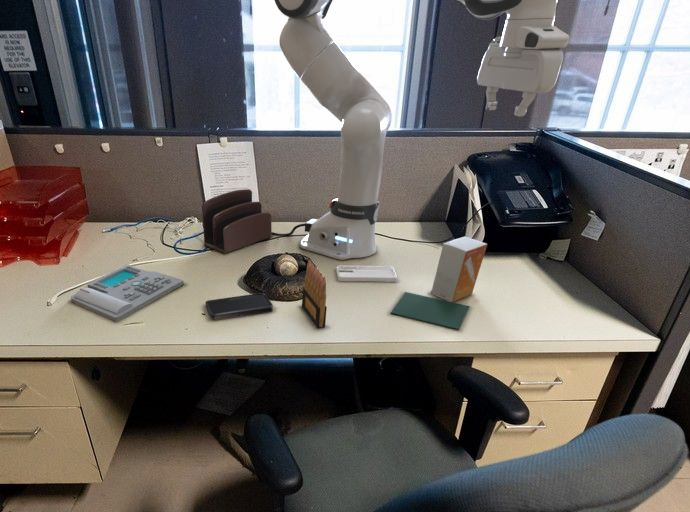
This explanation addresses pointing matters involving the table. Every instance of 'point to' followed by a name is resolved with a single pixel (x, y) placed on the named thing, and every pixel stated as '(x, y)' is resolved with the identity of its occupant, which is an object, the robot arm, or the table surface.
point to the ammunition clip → (315, 296)
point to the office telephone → (124, 291)
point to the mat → (431, 310)
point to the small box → (458, 268)
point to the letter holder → (234, 221)
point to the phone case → (367, 274)
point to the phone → (238, 306)
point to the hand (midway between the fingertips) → (504, 112)
